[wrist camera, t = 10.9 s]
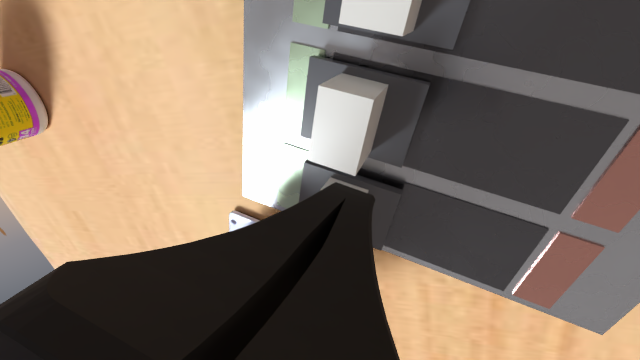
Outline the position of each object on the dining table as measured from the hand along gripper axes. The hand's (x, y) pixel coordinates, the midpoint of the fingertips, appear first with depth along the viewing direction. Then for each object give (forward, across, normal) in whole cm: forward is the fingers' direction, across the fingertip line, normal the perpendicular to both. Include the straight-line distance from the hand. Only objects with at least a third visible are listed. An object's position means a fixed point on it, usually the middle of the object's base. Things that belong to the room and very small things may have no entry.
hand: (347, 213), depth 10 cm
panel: (+10, -2, -1) cm, 10 cm away
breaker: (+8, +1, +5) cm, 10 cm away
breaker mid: (+8, +2, -1) cm, 8 cm away
